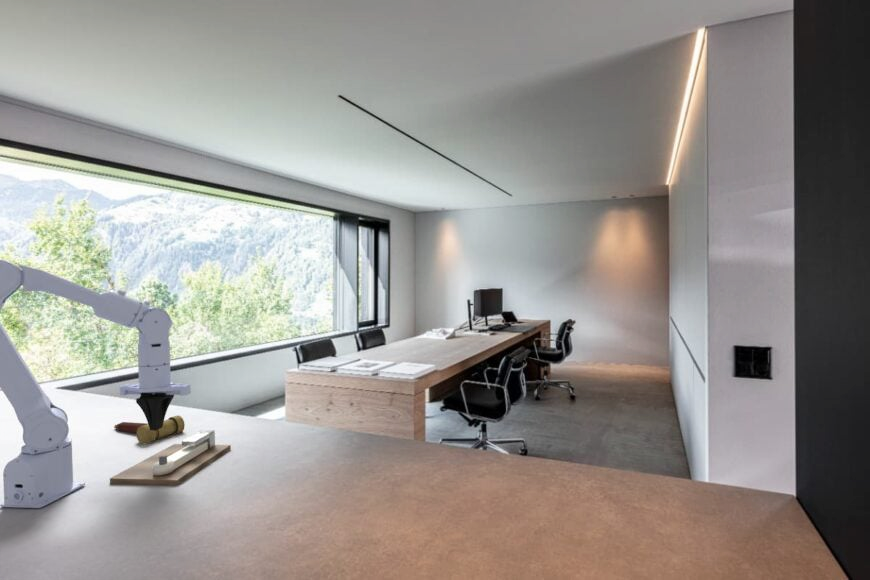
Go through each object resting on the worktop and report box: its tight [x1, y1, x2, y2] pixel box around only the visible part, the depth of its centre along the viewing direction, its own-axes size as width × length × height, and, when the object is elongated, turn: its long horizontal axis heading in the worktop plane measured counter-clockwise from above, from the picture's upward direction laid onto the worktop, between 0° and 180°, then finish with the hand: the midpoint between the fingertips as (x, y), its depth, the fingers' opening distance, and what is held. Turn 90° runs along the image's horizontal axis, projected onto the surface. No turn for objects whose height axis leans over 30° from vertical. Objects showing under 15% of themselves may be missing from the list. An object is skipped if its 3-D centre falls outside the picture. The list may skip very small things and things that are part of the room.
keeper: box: [181, 429, 216, 449], centre depth 104 cm, size 8×3×4 cm, turn 174°
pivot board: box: [109, 443, 231, 486], centre depth 99 cm, size 19×14×1 cm
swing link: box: [153, 442, 208, 475], centre depth 97 cm, size 14×4×3 cm, turn 174°
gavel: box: [113, 414, 186, 445], centre depth 121 cm, size 21×5×10 cm
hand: (156, 428), depth 97 cm, fingers closed
